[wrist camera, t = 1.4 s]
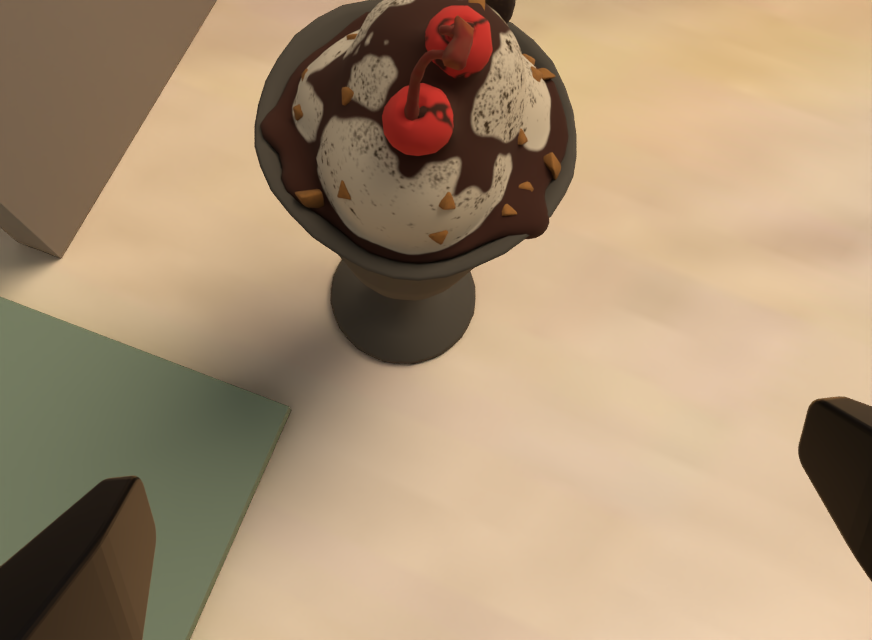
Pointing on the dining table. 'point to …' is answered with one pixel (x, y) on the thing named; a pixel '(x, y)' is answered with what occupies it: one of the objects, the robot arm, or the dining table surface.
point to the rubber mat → (128, 450)
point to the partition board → (77, 101)
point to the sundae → (415, 158)
